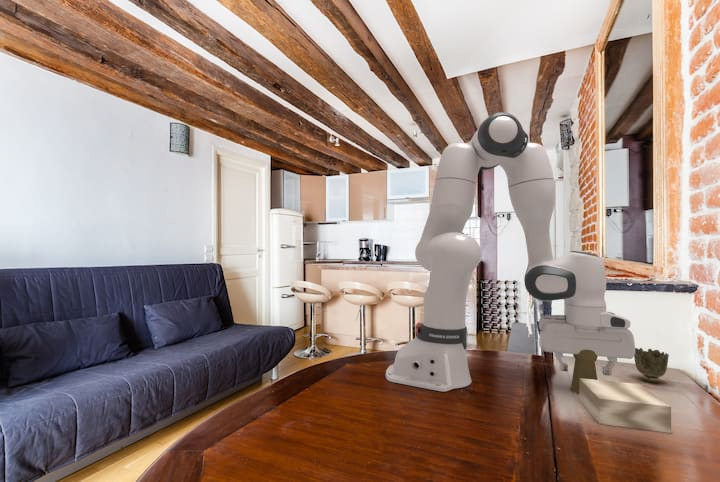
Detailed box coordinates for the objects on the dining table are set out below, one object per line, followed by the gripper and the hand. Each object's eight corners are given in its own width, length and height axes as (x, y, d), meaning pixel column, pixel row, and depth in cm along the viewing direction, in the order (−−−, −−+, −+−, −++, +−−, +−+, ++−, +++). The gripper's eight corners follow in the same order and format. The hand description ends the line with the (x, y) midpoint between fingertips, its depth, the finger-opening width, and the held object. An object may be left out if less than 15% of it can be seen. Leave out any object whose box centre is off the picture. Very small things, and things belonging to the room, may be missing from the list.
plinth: (599, 423, 70) (599, 398, 71) (579, 399, 82) (579, 378, 82) (671, 433, 67) (671, 406, 67) (639, 406, 79) (639, 384, 79)
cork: (604, 397, 83) (604, 351, 84) (576, 395, 85) (576, 349, 85) (593, 388, 89) (593, 344, 90) (566, 386, 91) (567, 342, 91)
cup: (638, 383, 93) (638, 353, 93) (629, 374, 100) (629, 346, 100) (674, 388, 90) (674, 356, 91) (662, 378, 97) (661, 349, 97)
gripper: (541, 315, 87) (541, 372, 87) (638, 321, 82) (638, 381, 81) (536, 311, 93) (536, 364, 93) (625, 317, 88) (626, 372, 88)
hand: (584, 372), depth 87 cm, fingers open, 8 cm apart
